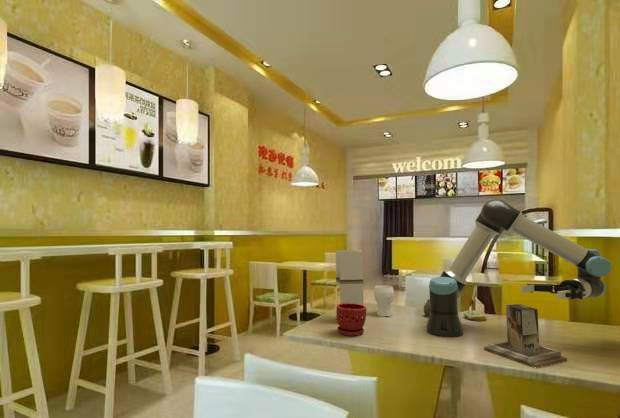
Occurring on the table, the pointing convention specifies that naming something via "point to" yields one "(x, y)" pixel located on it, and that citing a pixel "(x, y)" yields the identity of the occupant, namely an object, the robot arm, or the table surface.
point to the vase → (427, 308)
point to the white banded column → (350, 276)
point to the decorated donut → (474, 315)
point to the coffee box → (522, 329)
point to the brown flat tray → (543, 359)
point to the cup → (384, 299)
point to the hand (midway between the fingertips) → (539, 292)
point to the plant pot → (351, 318)
